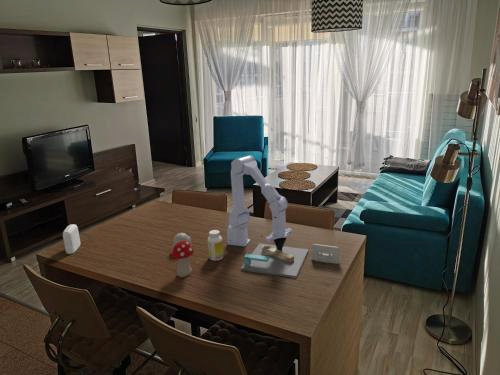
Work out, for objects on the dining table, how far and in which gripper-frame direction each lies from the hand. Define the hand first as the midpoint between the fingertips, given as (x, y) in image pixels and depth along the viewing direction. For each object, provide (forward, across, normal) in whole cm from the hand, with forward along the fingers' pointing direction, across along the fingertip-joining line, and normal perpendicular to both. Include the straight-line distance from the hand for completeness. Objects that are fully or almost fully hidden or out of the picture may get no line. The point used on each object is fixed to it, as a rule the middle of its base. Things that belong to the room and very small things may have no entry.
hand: (279, 251), depth 176 cm
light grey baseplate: (+2, -4, -2) cm, 5 cm away
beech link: (+1, -2, -1) cm, 2 cm away
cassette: (+2, +11, -18) cm, 21 cm away
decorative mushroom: (+2, -40, +17) cm, 43 cm away
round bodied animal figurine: (+2, -27, +38) cm, 47 cm away
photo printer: (+2, -67, +76) cm, 101 cm away
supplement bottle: (+2, -22, +19) cm, 29 cm away
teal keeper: (+2, -14, -1) cm, 14 cm away
